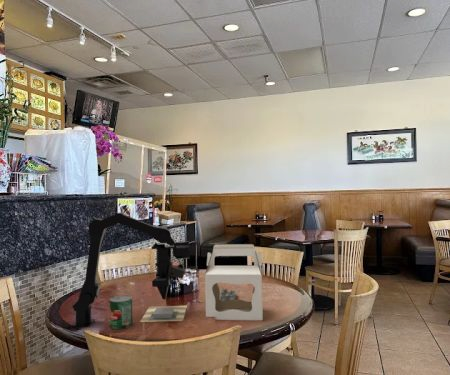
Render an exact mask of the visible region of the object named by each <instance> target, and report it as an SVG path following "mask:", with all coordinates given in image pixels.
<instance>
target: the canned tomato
mask: <svg viewBox="0 0 450 375" xmlns="http://www.w3.org/2000/svg"><path fill="white" fill-rule="evenodd" d="M109 316H110V317H109V320H110V321H109V326H110V329H113V330H122V331H114V333H117V334H118V333H126V332H127V331H126V330H125V331H123V329H128V328H130V327H133V296H132V295H128V294H125V295H124V294H123V295H122V294H121V295H114V296H112V297H110V298H109Z"/></svg>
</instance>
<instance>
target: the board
mask: <svg viewBox="0 0 450 375" xmlns="http://www.w3.org/2000/svg"><path fill="white" fill-rule="evenodd" d="M157 307H174V313H173V316H172V318H153V313H154V312H155V310H156V308H157ZM187 307H188V305H166V306H164V305H163V306H159V305H158V306H149V307H148V308H147V310H146V311H145V313H144V314H143V316H142V318H141V319H140V320H139V322H140V323H145V322H146V323H147V322H148V323H149V322H152V323H153V322H154V323H155V322H181V321H184V318H185V315H186V310H187Z"/></svg>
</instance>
